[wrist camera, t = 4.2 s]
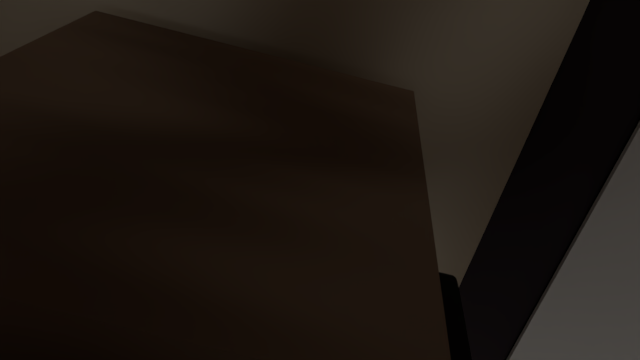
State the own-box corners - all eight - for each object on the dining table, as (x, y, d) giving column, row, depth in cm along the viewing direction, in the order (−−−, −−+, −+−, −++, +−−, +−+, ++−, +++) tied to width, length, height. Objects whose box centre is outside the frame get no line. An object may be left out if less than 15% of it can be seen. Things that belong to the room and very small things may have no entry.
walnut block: (413, 91, 10) (457, 406, 4) (336, 324, 13) (297, 709, 7) (95, 10, 10) (-332, 218, 4) (88, 263, 13) (-166, 604, 7)
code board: (704, -258, 8) (710, -261, 8) (375, 467, 17) (375, 471, 17) (-108, -483, 8) (-116, -489, 8) (-16, 379, 17) (-20, 383, 16)
